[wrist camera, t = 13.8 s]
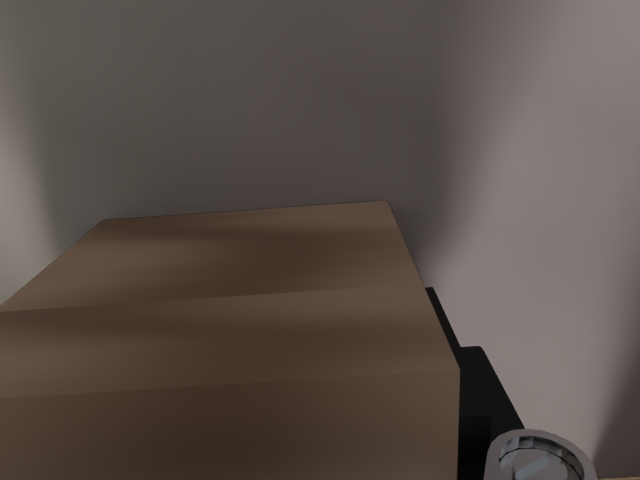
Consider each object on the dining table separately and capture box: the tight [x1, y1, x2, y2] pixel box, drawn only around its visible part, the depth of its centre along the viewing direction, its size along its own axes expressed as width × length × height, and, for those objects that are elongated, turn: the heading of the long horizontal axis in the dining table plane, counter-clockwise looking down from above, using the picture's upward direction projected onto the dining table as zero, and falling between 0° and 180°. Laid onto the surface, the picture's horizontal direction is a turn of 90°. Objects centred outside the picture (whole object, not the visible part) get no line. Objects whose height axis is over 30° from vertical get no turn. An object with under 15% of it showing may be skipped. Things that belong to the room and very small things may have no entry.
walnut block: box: [0, 200, 460, 480], centre depth 9 cm, size 6×6×6 cm
